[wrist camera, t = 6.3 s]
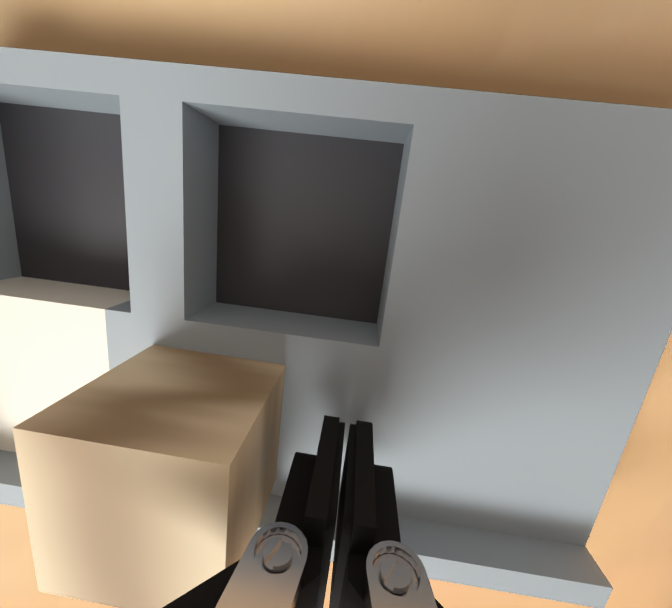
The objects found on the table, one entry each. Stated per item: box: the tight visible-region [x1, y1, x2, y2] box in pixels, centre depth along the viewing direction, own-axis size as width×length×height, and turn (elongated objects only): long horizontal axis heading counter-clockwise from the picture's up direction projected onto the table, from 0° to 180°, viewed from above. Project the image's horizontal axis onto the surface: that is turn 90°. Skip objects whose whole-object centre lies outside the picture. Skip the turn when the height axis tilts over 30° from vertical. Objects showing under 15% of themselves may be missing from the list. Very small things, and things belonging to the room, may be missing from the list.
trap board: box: [0, 47, 672, 608], centre depth 12 cm, size 26×16×4 cm, turn 84°
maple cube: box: [12, 345, 286, 608], centre depth 10 cm, size 5×5×5 cm
